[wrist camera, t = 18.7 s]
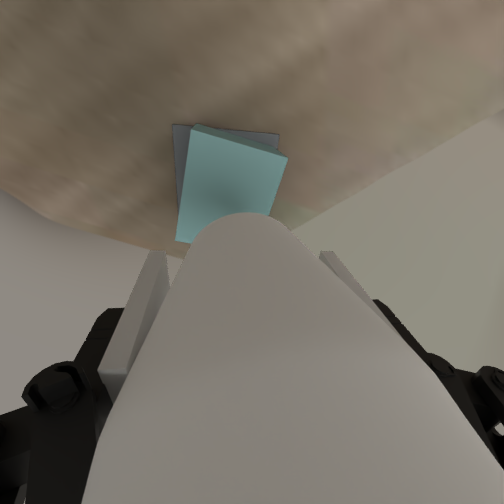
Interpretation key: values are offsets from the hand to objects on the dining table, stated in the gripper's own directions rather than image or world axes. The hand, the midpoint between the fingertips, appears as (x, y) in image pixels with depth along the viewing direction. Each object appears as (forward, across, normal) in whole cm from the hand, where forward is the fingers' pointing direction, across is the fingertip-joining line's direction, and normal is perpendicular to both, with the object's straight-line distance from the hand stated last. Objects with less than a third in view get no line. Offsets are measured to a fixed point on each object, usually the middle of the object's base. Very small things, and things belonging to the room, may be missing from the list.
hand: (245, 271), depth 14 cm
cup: (+1, 0, 0) cm, 1 cm away
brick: (+19, 0, 0) cm, 19 cm away
